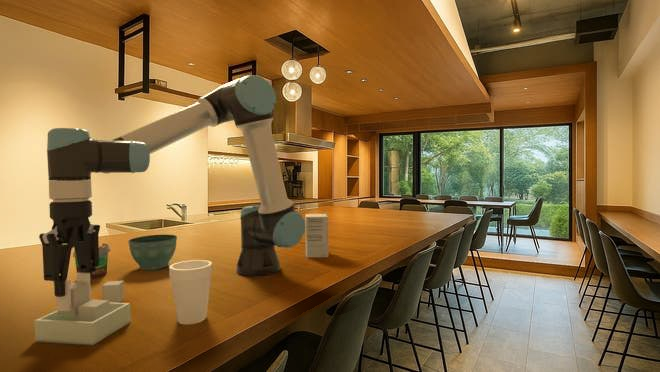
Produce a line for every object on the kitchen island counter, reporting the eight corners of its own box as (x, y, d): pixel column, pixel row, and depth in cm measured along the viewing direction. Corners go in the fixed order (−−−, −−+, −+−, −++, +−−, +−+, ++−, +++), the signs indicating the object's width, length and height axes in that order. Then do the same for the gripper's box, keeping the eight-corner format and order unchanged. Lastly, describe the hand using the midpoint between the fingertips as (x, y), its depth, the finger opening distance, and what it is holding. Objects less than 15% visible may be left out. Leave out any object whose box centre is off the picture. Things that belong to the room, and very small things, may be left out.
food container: (89, 282, 115) (88, 251, 114) (73, 281, 116) (72, 250, 115) (119, 271, 127) (118, 243, 126) (104, 270, 128) (103, 243, 128)
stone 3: (124, 298, 100) (123, 280, 100) (119, 302, 96) (118, 284, 96) (108, 299, 99) (107, 281, 99) (102, 304, 95) (102, 285, 95)
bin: (130, 322, 84) (130, 303, 83) (93, 345, 72) (92, 323, 72) (79, 319, 85) (78, 301, 85) (35, 341, 74) (34, 320, 74)
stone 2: (110, 326, 80) (109, 300, 80) (96, 334, 76) (95, 307, 76) (94, 325, 81) (93, 299, 81) (79, 333, 77) (78, 306, 77)
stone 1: (89, 309, 81) (88, 283, 81) (74, 316, 77) (73, 288, 77) (73, 308, 81) (72, 282, 81) (57, 315, 77) (56, 288, 77)
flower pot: (128, 275, 122) (127, 244, 121) (129, 264, 136) (129, 236, 136) (179, 269, 129) (178, 239, 129) (175, 259, 144) (175, 233, 143)
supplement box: (305, 252, 155) (304, 213, 154) (326, 252, 156) (326, 213, 155) (306, 258, 145) (305, 216, 144) (328, 257, 146) (328, 216, 145)
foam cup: (178, 311, 90) (177, 260, 89) (216, 310, 90) (215, 259, 90) (164, 328, 80) (163, 270, 80) (206, 326, 81) (205, 269, 80)
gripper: (87, 197, 87) (90, 291, 88) (15, 203, 70) (20, 321, 71) (115, 197, 86) (118, 292, 87) (50, 203, 69) (54, 323, 70)
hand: (74, 305), depth 79 cm, fingers open, 5 cm apart
